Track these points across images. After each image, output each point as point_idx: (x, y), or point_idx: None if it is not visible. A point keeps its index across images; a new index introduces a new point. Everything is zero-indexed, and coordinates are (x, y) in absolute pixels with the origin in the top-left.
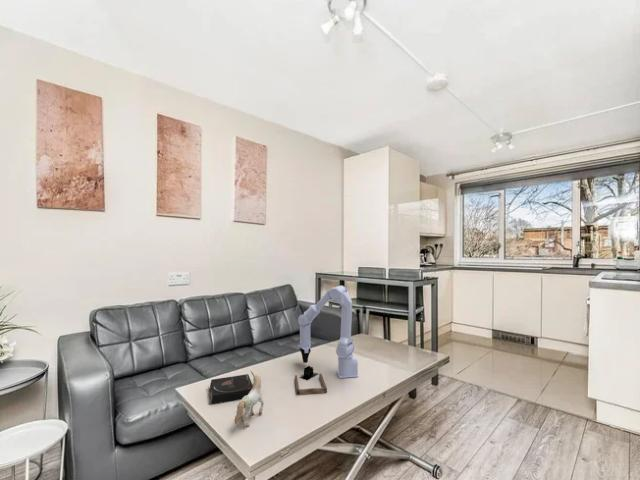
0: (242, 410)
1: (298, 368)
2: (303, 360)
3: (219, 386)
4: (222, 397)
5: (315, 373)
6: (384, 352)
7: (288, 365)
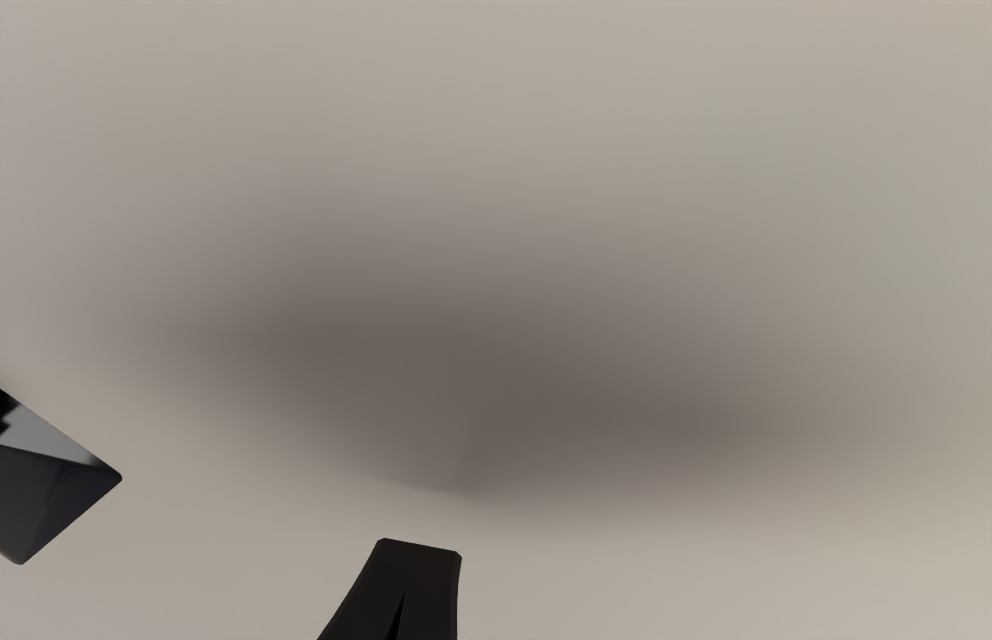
0: None
1: (341, 306)
2: (341, 610)
3: None
4: None
5: (11, 531)
6: None
7: (739, 27)
